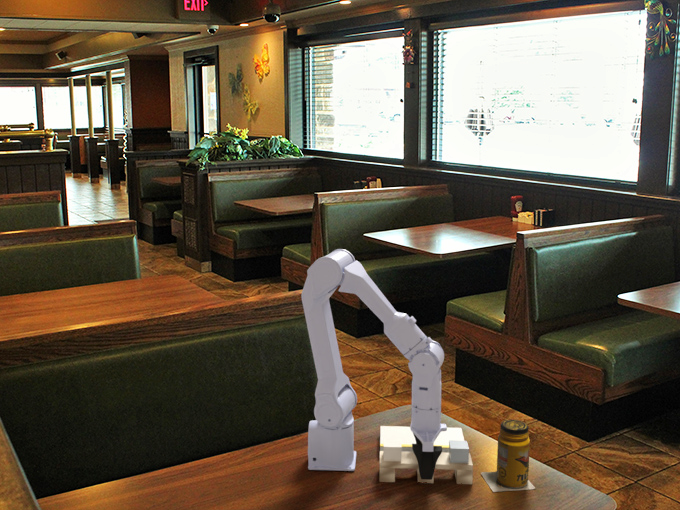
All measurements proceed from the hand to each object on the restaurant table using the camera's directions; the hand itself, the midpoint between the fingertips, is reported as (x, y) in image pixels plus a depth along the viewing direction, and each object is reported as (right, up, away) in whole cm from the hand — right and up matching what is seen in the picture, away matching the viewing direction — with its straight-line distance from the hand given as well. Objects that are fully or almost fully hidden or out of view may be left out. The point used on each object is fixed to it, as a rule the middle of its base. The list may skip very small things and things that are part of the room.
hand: (425, 468), depth 138 cm
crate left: (-7, +2, 0) cm, 7 cm away
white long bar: (0, -2, 0) cm, 2 cm away
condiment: (+16, -2, -2) cm, 16 cm away
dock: (+1, +1, +13) cm, 14 cm away
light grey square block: (+6, +2, -1) cm, 7 cm away
